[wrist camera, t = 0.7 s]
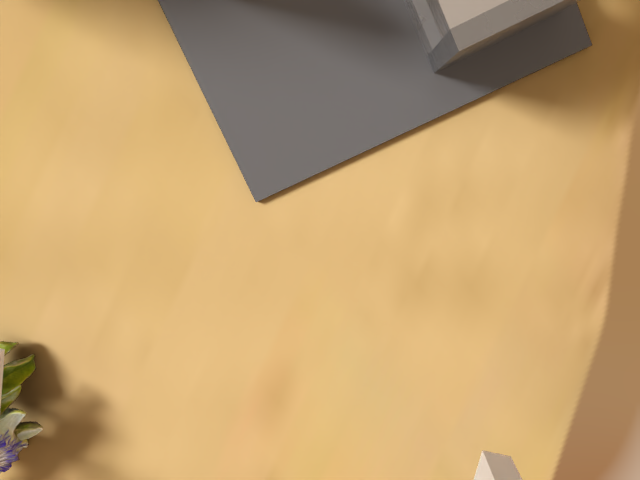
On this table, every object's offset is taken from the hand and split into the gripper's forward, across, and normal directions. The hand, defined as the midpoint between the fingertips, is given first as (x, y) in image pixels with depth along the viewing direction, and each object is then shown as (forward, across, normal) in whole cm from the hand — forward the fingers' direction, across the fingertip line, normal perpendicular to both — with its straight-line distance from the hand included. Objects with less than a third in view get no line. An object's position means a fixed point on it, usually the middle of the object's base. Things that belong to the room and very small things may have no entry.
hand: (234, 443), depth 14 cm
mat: (+25, 0, +18) cm, 31 cm away
